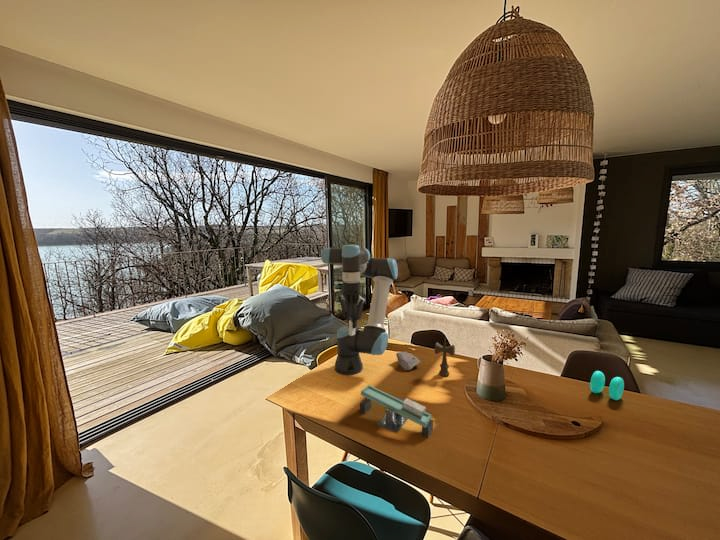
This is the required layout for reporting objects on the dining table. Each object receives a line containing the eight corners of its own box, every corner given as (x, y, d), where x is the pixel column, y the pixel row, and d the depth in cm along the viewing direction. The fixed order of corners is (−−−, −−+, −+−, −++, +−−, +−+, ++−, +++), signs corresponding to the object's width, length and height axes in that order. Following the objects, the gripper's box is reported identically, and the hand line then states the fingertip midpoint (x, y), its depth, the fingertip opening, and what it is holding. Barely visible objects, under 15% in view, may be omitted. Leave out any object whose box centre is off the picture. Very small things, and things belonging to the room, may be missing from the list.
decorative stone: (422, 367, 163) (422, 357, 163) (408, 372, 159) (408, 361, 158) (406, 359, 175) (406, 349, 174) (393, 362, 170) (393, 352, 169)
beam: (368, 387, 128) (369, 384, 128) (431, 418, 114) (432, 414, 113) (360, 395, 123) (360, 391, 122) (425, 428, 108) (425, 424, 108)
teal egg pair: (616, 404, 127) (619, 382, 126) (588, 394, 135) (590, 373, 134) (623, 396, 133) (626, 375, 132) (596, 387, 141) (598, 367, 140)
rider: (405, 405, 118) (406, 398, 117) (424, 415, 114) (426, 407, 113) (401, 410, 115) (402, 402, 114) (421, 420, 111) (422, 411, 110)
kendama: (435, 370, 160) (436, 334, 157) (454, 373, 156) (455, 336, 153) (433, 375, 155) (434, 338, 152) (453, 378, 151) (454, 340, 148)
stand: (371, 401, 132) (370, 386, 131) (436, 424, 116) (436, 407, 116) (354, 417, 122) (354, 401, 121) (424, 444, 106) (424, 426, 105)
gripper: (333, 281, 129) (335, 334, 132) (359, 284, 122) (360, 340, 125) (344, 278, 135) (345, 329, 138) (369, 281, 128) (369, 334, 131)
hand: (352, 334), depth 131 cm, fingers closed
